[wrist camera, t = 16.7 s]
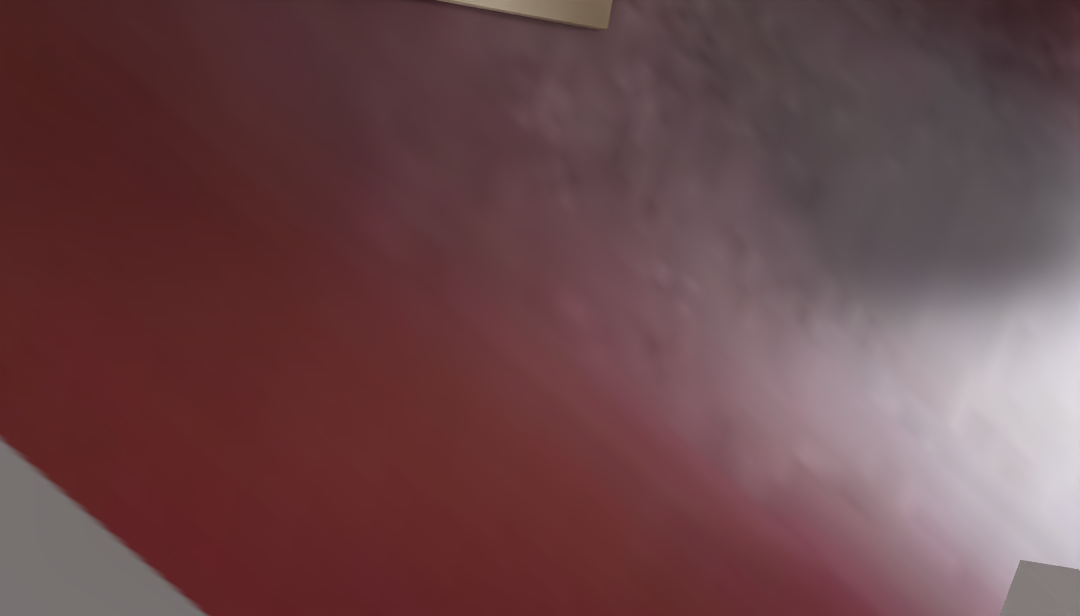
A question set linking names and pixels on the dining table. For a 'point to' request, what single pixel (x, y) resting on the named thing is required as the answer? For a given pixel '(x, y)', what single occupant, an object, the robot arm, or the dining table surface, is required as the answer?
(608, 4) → the coaster
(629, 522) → the dining table surface
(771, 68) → the dining table surface
